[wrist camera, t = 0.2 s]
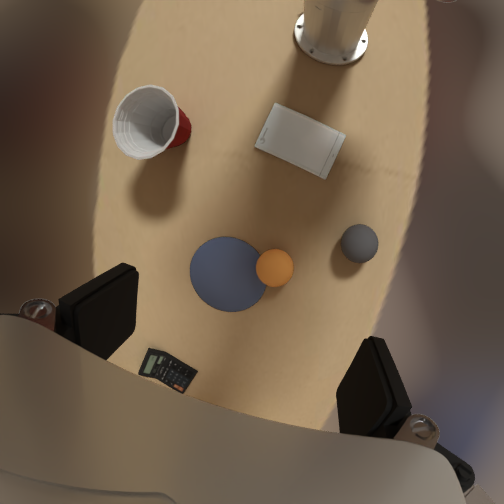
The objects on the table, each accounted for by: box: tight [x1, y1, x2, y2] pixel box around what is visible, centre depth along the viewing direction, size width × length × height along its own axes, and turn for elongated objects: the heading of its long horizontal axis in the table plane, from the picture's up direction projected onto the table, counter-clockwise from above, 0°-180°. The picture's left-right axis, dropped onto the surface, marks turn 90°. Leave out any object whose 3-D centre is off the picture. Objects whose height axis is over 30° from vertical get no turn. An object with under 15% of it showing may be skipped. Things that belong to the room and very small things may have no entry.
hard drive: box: [254, 103, 346, 180], centre depth 42 cm, size 2×8×12 cm
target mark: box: [190, 237, 266, 312], centre depth 50 cm, size 14×14×1 cm
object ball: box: [256, 249, 294, 287], centre depth 45 cm, size 6×6×6 cm
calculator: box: [138, 348, 198, 394], centre depth 58 cm, size 9×12×3 cm
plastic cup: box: [113, 85, 191, 160], centre depth 39 cm, size 11×11×12 cm
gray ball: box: [341, 224, 378, 263], centre depth 42 cm, size 6×6×6 cm
